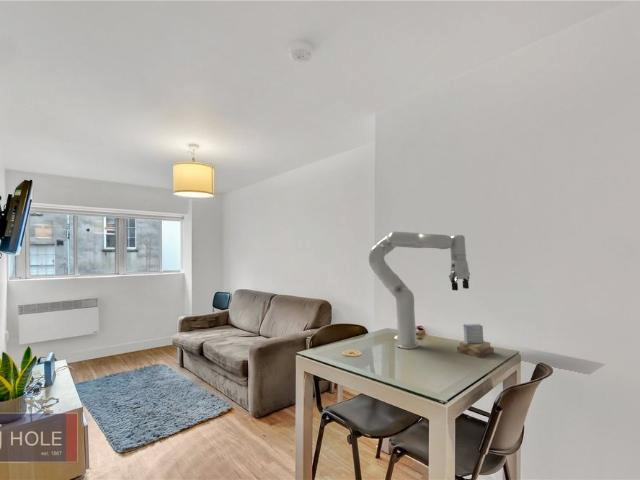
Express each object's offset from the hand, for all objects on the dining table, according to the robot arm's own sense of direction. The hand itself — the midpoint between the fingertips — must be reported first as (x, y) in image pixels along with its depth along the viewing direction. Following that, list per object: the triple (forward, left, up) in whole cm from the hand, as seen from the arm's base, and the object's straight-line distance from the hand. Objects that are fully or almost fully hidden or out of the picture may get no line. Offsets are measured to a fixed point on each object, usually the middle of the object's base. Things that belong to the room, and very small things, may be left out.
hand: (460, 289), depth 174 cm
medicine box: (+10, -6, -26) cm, 28 cm away
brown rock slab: (+10, -6, -30) cm, 32 cm away
